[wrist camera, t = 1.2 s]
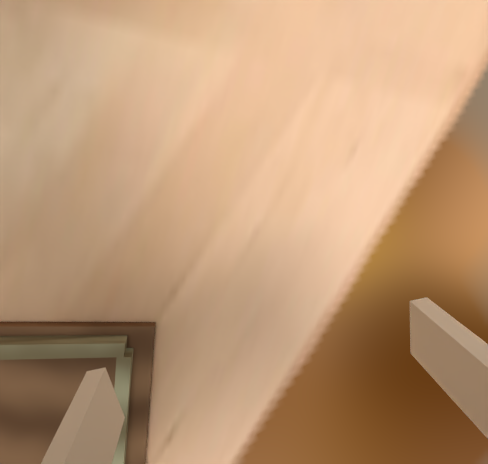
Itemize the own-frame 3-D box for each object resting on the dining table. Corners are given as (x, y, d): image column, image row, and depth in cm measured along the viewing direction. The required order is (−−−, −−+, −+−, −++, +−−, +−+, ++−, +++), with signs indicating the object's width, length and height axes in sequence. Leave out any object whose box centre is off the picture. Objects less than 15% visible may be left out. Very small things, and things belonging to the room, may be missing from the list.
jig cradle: (-68, 321, 27) (-97, 335, 24) (155, 322, 32) (154, 334, 28) (-77, 507, 28) (-107, 544, 25) (143, 482, 32) (141, 511, 29)
